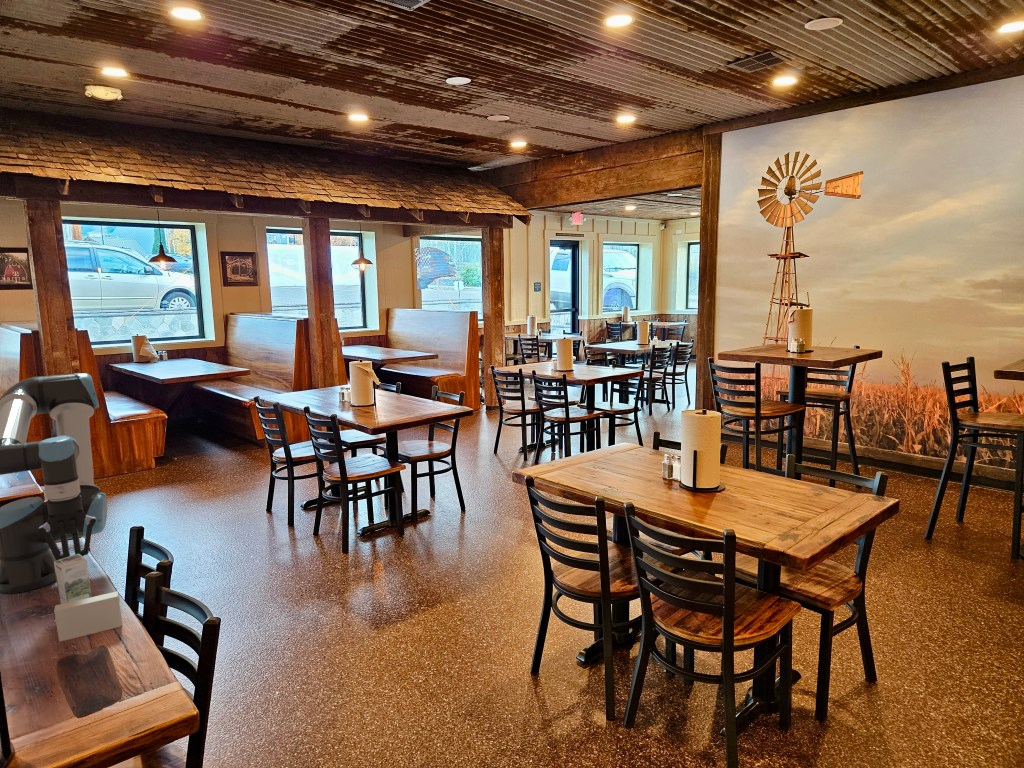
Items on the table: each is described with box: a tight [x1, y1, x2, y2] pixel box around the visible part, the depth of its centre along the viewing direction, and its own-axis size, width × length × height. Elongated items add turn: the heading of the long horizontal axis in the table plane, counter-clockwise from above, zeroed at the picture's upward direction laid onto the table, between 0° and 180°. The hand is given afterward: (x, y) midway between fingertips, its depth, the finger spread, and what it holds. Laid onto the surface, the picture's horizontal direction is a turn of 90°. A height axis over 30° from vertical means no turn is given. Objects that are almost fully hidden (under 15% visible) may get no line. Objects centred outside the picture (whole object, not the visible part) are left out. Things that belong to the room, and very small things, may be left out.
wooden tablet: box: [56, 644, 123, 718], centre depth 143 cm, size 26×2×10 cm
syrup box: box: [54, 554, 93, 604], centre depth 171 cm, size 6×6×14 cm
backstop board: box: [53, 590, 123, 643], centre depth 162 cm, size 3×13×8 cm, turn 120°
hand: (76, 581), depth 177 cm, fingers closed
